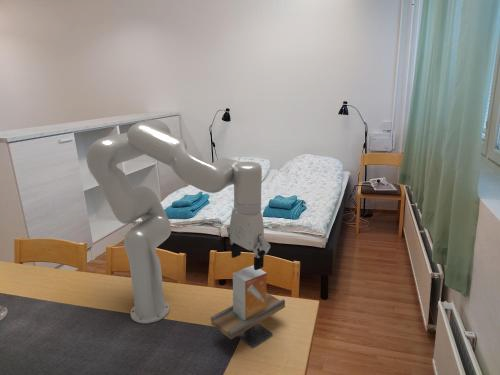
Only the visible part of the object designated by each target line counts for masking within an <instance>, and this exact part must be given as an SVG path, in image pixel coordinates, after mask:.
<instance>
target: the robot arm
mask: <svg viewBox="0 0 500 375" xmlns="http://www.w3.org/2000/svg"><path fill="white" fill-rule="evenodd" d="M187 144H188V143H187V142H186V140H185V139H183V138H181V137H179V136H177V135H174V134H172V133H171V130H170V127H169V126H168V125H167V124H166V123H165V122H164V121H161V120H157V119H151V120H145V121H140V122H137V123H135V124H133V125H131V127H129V129H128V130H127V132H124V133H120V134H119V133H118V134H114V135H108V136H104V137H101V138H99V139H97V140H95V141H94V142H93V143H92V144H90V146H89V148H88V150H87V153H86V163H87V168H88V170H89V172H90V173H91V175H92V176H93V178H94V179H95V181H96V182H97V184H98V185H99V187H100V189H101V191H102V193H103V196H104V197H105V199H106V201H107V203H108V205H109V207H110V208H111V211H112V212H113V215H114V216H115V218H116V219H117V221H118V222H119V223H122V224H126V225H127V224H132V223H134V222H136V221H137V220H139V219H141V222H139V223H137V224H135V225H134V226H133V227H131V228H130V229H129V230H128V231H127V232H126V233H125V235H124V238H123V246H124V249H125V252H126V256H127V259H128V263H129V269H130V270H129V271H130V275H131V276H130V277H131V285H132V286H131V287H132V293H133V294H132V296H133V303H134V306H132V308H131V310H130V318H131V320H132V321H134V322H136V323H139V324H152V323H157V322H159V321H161V320H163V319H164V318H165V317H167V315H168V314H169V312H170V305H169V303H168V302H167V301H166V300H165V298H164V287H163V276H162V266H161V260H160V258H159V256H158V254H157V252H156V250H157V248H158V247H159V246H160V245H162V244H163V243H164V242H165V241H166V240H167V239H169V237H170V235H171V233H172V225H171V221H170V220H169V217H168V215H167V214H166V211H165V209H164V207H163V205H162V203H161V201H160V199H159V197H158V194H156V192H155V191H153V190H152V189H151V188H150V187H148V186H145V185H139V186H136V187H134V186H133V185H132V184H131V181H130V178H129V177H128V176H127V174H126V173H125V172H124V171H123V170H122V169H121V168H119V167H118V166H117V165H119V164H120V163H125V162H127V161H130V160H134V159H136V158H138V157H141V156H144V155H146V156H148V157H150V158H152V159H154V160H155V161H158V162H160V163H162V164H165V165H167V166H169V167H170V168H171V169H172V171H173V172H174V173H175V174H176V176H178V178H180V180H182V182H184V183H186V184H188V185H190V186H191V187H194V188H197V189H198V190H201V191H203V192H206V193H210V194H216V193H219V192H221V191H222V190H224V189H225V188H228V187H229V186H233V208H232V210H231V214H230V222H229V226H227V227H226V231H227V238H229V244H230V245H231V248H230V249H231V258H233V259H234V258H237V257H239V256H241V255H242V248H244V249H245V250H248V251H252V252H253V253H254V255H255V256H254V257H253V265H254V270H258V269H263V267H264V258H265V256H266V255H267V254H268V253H269V250H270V249H271V244H270V243H269V242H268V241H267V239H266V238H265V228H264V219H263V213H262V183H263V182H262V180H263V179H262V178H263V176H262V174H263V172H262V171H263V169H262V166H261V165H260V163H258V162H255V161H240V160H235V159H231V158H226V157H225V158H220V159H218V160H216V161H214V162H211V163H210V164H209V163H207V162H204V161H202V160H200V159H198V158H196V157H195V156H193V155H192V154H190V153H189V152H188V149H187V148H188V146H187ZM258 250H259V251H258Z"/></svg>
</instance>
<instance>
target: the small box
mask: <svg viewBox="0 0 500 375" xmlns="http://www.w3.org/2000/svg"><path fill="white" fill-rule="evenodd" d="M266 293H267V272H266V271H264V269H263V270H262V268H260V269H258V270H254V264H253V265H250V266H247V267H244V268H242V269H239V270H236V271H234V272H232V306H233V311H234V312H235V313H236V314H238V315H239V316H240V317H241V318H243V319H244V320H245V321H246V320H248V319H250V318H251V317H253V316H255V315H257V314H258V313H260V312H262V311H264V310H265V309H266Z"/></svg>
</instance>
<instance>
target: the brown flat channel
mask: <svg viewBox="0 0 500 375" xmlns="http://www.w3.org/2000/svg"><path fill="white" fill-rule="evenodd" d="M284 308H286V299H281V300H280V299H279V298H277V297H275V296H273V295H271V294H270V293H268V292H266V309H265V310H264V311H262V312H260V313H258V314H257V315H255V316H253V317H251V318H250V319H248V320H246V321H245V320H244V319H243V318H241V317H240V316H239V315H238V314H236V313H235V312H234V311H233V305H231V306H229V307H227V308H226V309H223V310H221V311H219V312H218V313H216V314H214V315H213V316H210V320H211V325H212V326H213V327H214V328H215V329H217V330H218V331H219V332H221V334H223V335H224V336H226V337H227V338H228V339H229V340H233V339H234V338H236V337H237V336H238V335H239V334H241V333H243V332H244V331H246V330H248V329H249V328H251V327H253V326H254V325H256V324H258V323H259V324H260V323H261V322H263V321H264V320H266V319H268V318H269V317H271V316H273V315H274V314H277V312H280V311H282V310H283V309H284Z"/></svg>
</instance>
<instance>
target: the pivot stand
mask: <svg viewBox="0 0 500 375" xmlns="http://www.w3.org/2000/svg"><path fill="white" fill-rule="evenodd" d="M273 335H274V333H273V332H272V331H270V330H269V329H267V328H266V327H264V326H263V325H261V324H260V322H259V323H258V324H256V325H254V326H253V327H251V328H249V329H248V330H246V331H244V332H243V333H241V334H239V335H238V336H236V337H238V338H239V339H240V340H241V341H243V342H244V343H246V344H247V345H248V346H249V347H250V348H252V349H255V348H256V347H257V346H260V345H261V344H263V343H264V342H266V341H267V340H268V339H270V338H272V337H273Z"/></svg>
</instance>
